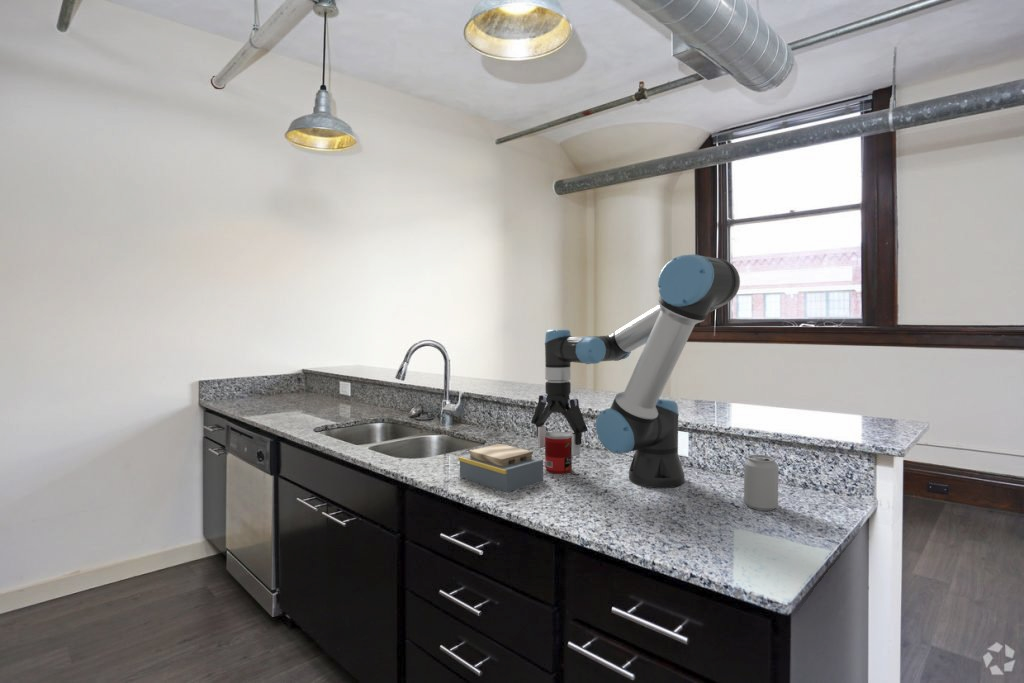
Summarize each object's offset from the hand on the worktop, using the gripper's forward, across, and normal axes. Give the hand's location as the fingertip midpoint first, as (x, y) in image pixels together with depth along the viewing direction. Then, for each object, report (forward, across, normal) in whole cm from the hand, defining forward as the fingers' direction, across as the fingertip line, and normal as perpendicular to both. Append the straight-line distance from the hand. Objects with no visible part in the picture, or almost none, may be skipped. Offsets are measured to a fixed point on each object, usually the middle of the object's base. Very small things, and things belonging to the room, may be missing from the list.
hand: (558, 451), depth 160 cm
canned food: (+6, 0, 0) cm, 6 cm away
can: (+6, -55, -11) cm, 56 cm away
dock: (+6, +6, +18) cm, 20 cm away
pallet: (0, +6, +18) cm, 19 cm away
